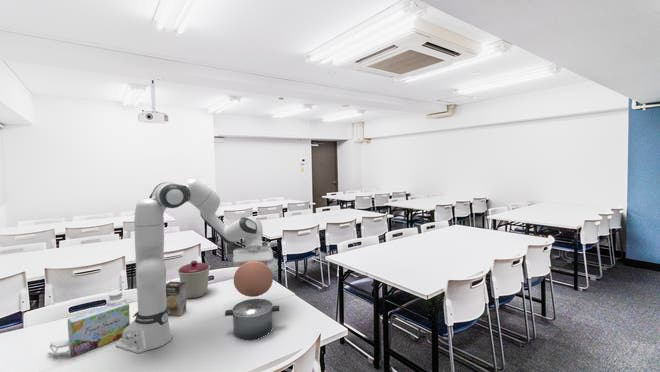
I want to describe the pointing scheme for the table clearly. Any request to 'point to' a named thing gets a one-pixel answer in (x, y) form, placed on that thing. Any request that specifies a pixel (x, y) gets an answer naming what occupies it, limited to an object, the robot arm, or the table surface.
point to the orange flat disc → (253, 278)
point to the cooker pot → (252, 318)
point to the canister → (195, 278)
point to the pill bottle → (115, 298)
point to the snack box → (97, 327)
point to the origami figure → (61, 344)
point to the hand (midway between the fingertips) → (253, 271)
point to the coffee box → (176, 298)
